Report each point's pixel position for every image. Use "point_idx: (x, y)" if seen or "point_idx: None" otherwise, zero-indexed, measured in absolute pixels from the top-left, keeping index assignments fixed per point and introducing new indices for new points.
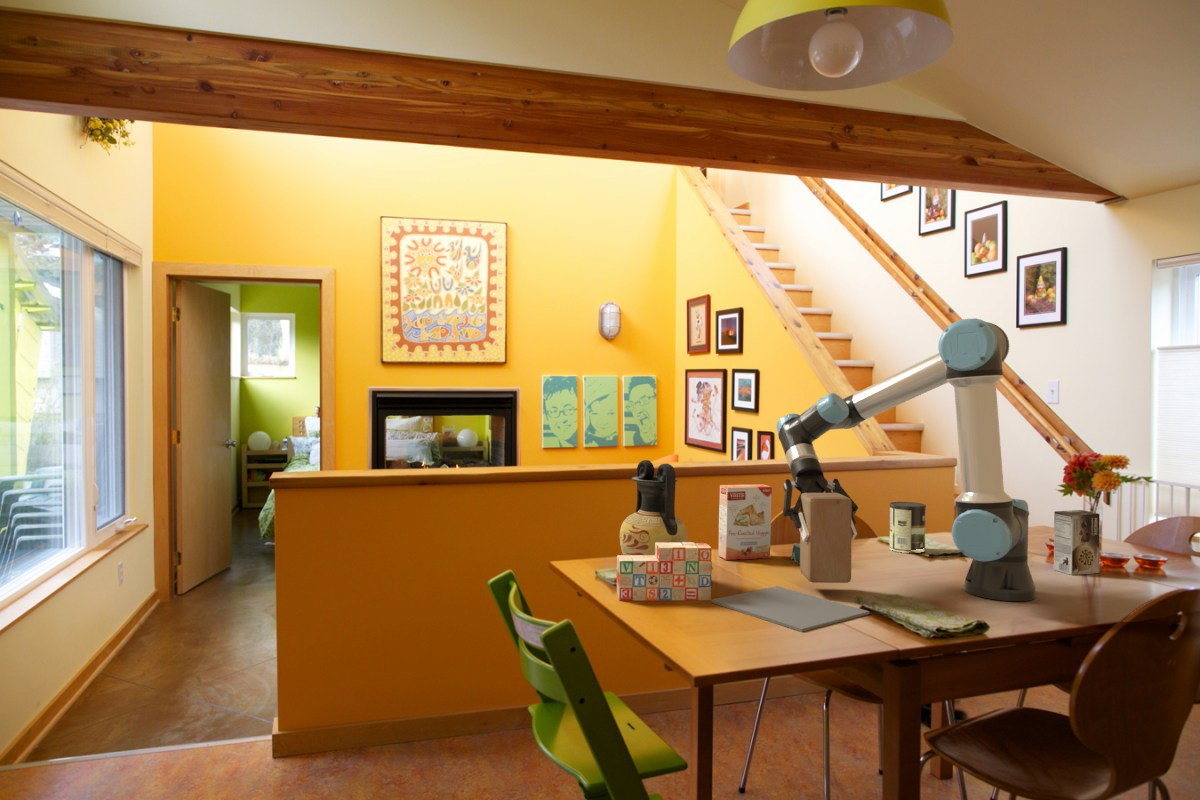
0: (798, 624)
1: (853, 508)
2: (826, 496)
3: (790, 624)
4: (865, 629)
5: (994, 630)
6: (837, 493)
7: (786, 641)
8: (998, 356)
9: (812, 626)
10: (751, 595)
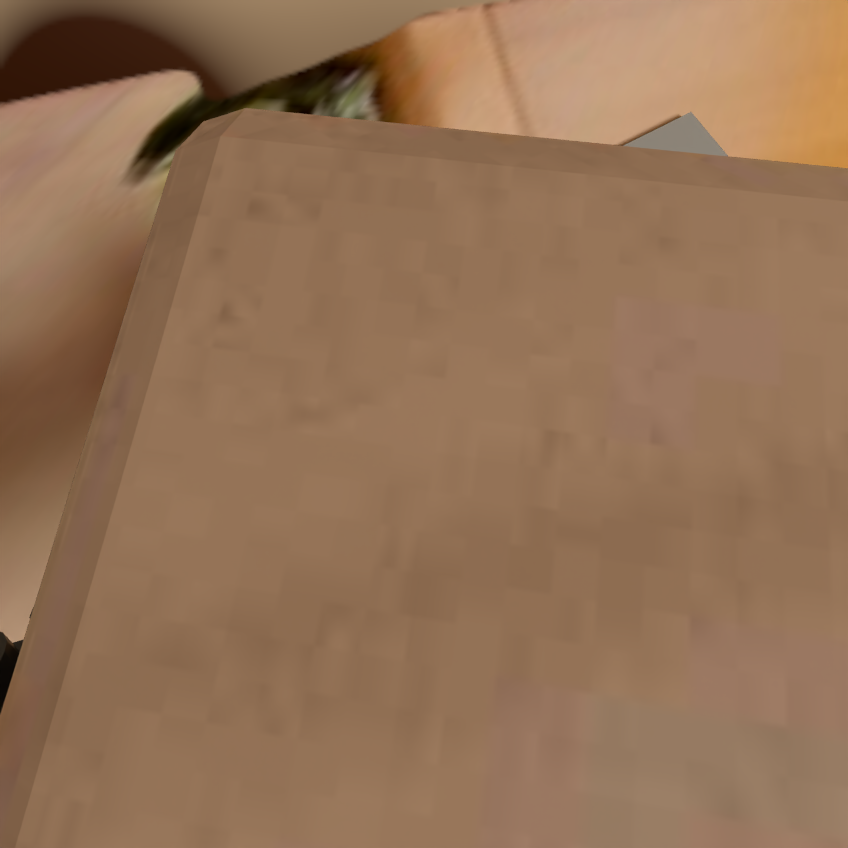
0: (689, 147)
1: (11, 661)
2: (615, 282)
3: (713, 147)
4: (499, 129)
5: (162, 103)
6: (57, 840)
7: (747, 60)
8: None
9: (652, 131)
10: None
